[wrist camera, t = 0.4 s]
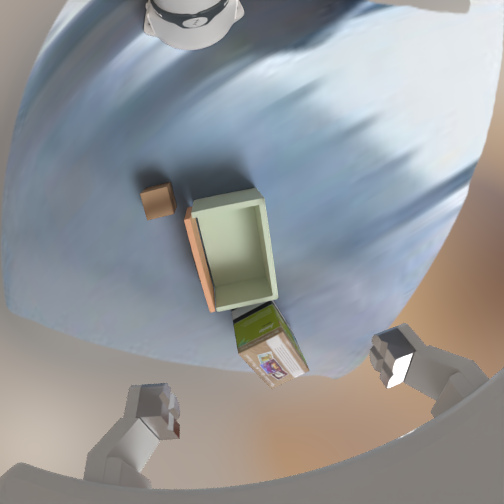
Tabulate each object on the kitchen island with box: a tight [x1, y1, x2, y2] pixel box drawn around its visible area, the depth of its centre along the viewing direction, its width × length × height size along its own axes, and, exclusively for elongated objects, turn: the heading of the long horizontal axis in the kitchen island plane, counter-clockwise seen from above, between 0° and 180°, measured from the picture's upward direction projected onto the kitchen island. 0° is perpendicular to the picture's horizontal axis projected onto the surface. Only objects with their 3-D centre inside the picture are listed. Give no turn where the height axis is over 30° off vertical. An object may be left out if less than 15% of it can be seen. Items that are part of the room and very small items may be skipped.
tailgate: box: [184, 207, 215, 312], centre depth 50 cm, size 19×1×8 cm, turn 9°
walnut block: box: [140, 182, 177, 220], centre depth 48 cm, size 5×5×5 cm
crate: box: [191, 188, 278, 312], centre depth 52 cm, size 20×12×8 cm, turn 9°
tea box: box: [232, 300, 309, 389], centre depth 59 cm, size 15×10×15 cm, turn 28°
